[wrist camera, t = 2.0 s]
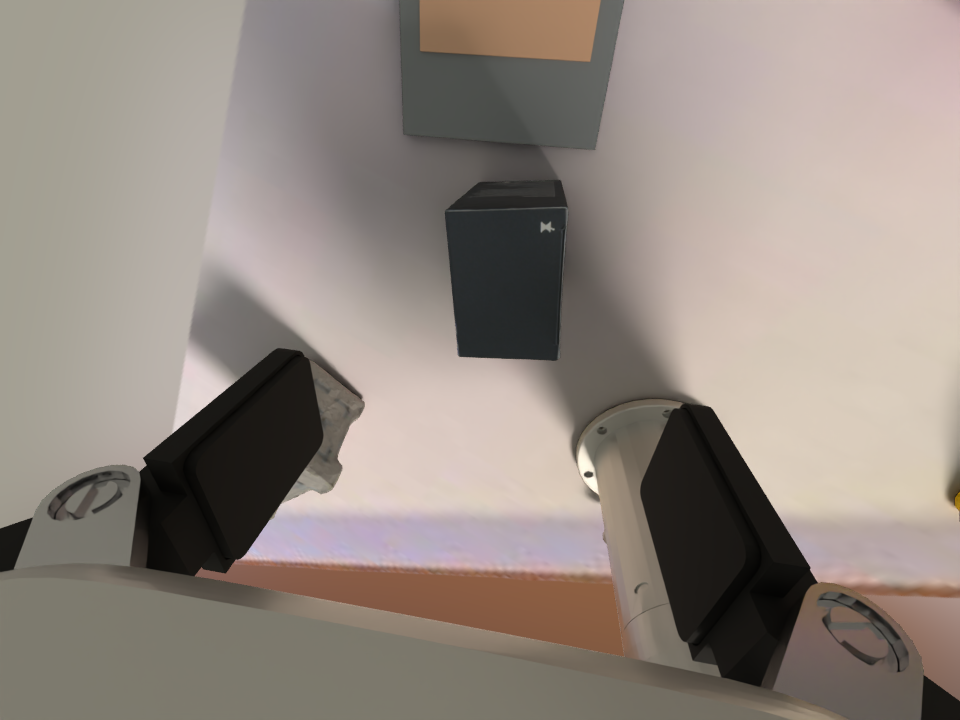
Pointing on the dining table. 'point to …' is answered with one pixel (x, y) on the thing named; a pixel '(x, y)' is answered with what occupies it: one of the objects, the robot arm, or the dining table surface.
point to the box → (508, 269)
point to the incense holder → (328, 434)
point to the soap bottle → (958, 503)
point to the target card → (507, 69)
